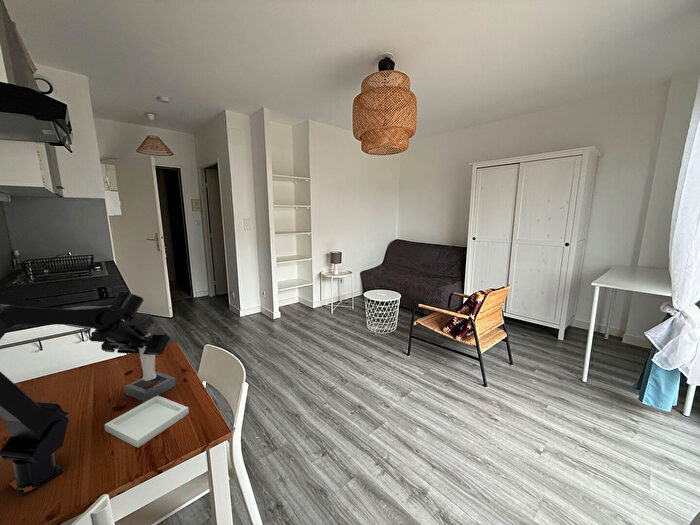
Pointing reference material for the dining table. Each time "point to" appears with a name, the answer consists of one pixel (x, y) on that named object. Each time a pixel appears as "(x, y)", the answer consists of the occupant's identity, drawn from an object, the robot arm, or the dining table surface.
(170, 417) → the tray
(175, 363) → the dining table surface
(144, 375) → the perfume bottle
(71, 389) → the dining table surface
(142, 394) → the bottle collar
